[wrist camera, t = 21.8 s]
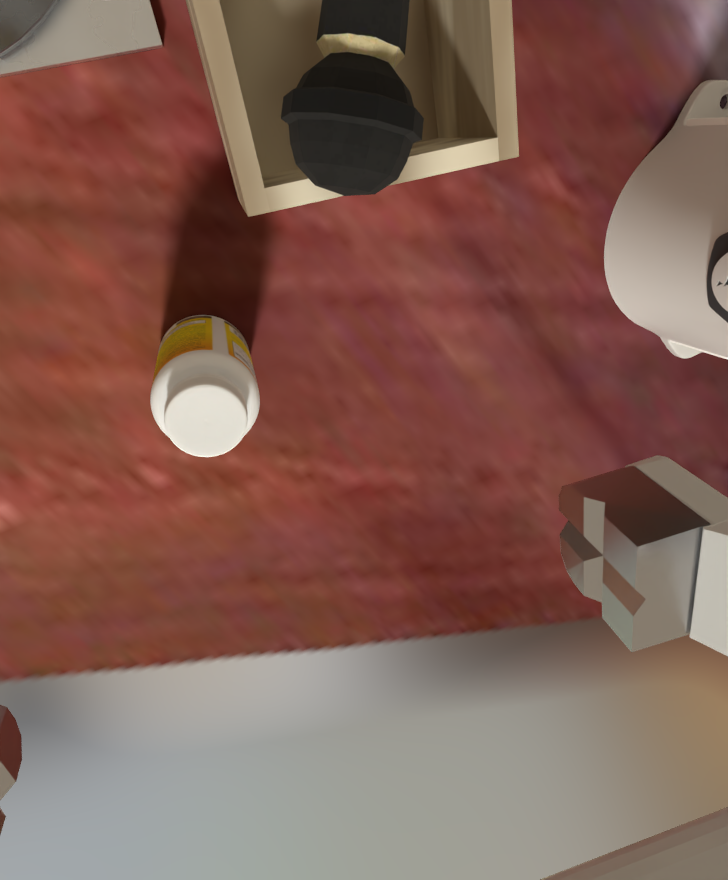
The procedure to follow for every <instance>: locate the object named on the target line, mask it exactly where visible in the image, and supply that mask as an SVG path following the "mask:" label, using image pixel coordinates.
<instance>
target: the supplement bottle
mask: <svg viewBox="0 0 728 880" xmlns="http://www.w3.org/2000/svg"><path fill="white" fill-rule="evenodd" d="M150 402H151V409H152V413H153V416H154V419H155V421H156V423H157V424H158V426H159V427H160V429H161V430H162V431H163V432H164V433H165V434H166V435H167V436H168V437H169V438H170V439H171V441H172V442H173V443H174V444H175V445H176V446H177V447H178V448H180V449H181V450H182V451H184V452H186V453H188V454H191V455H194V456H199V457H213V456H218V455H221V454H224V453H226V452H228V451H230V450H231V449H233V448H234V447H235V446H236V445H237V444H238V443H239V442H240V441H241V439H242V438H243V436H244V435H245V434H246V433H247V432H248V431H249V430H250V429H251V427H252V426H253V424H254V422H255V420H256V418H257V415H258V412H259V406H260V396H259V389H258V385H257V381H256V377H255V372H254V368H253V364H252V360H251V356H250V352H249V348H248V345H247V343H246V340H245V339H244V337H243V335H242V334H241V333H240V332H239V330H238V329H237V328H236V327H234V326H233V325H232V324H230V323H229V322H227V321H225V320H224V319H221V318H218V317H215V316H210V315H195V316H191V317H187V318H184V319H182V320H180V321H178V322H177V323H176V324H174V325H173V326H172V327H171V328H170V329H169V330H168V331H167V333H166V334H165V335H164V337H163V339H162V341H161V344H160V347H159V352H158V357H157V362H156V367H155V373H154V378H153V383H152V389H151V401H150Z"/></svg>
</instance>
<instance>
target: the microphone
mask: <svg viewBox="0 0 728 880" xmlns="http://www.w3.org/2000/svg"><path fill="white" fill-rule="evenodd" d="M409 2H410V0H322V5H321V12H320V19H319V26H318V33H317V40H316V43H317V45H318V47H319V48H320V50H321V52H322V54H323V56H324V59H322V60H321V61H320V62H318V63H317V64H316V65H315V66H313V67H312V68H311V69H310V70H308V71H307V72H306V73H305V74H303V76H302V78H301V80H300V81H299V83H298V85H297V87H296V88H295V89H293V90H291V91H290V92H289V93H287V94H286V95H285V96H284V97H283V104H282V112H281V119H282V120H283V121H285V122H286V123H287V124H288V125H289V135H290V145H291V148H292V152H293V156H294V160H295V163H296V165H297V166H298V167H299V169H300V170H301V171H302V172H303V173H304V174H305V175H306V176H307V177H308V178H309V179H310V181H311V182H312V183H313V184H314V185H315V186H318V187H321V188H324V189H326V190H329V191H332V192H335V193H338V194H341V195H343V196H350V195H369V194H376V193H377V192H379V191H380V190H382V189H383V188H385V187H387V186H388V185H390V184H391V183H393V182H394V181H396V180H397V179H398V178H399V176H400V174H401V172H402V170H403V168H404V166H405V165H406V163H407V160H408V157H409V154H410V151H411V148H412V145H413V143H415V142H418V141H421V140H422V132H423V122H424V118H423V117H422V115H421V114H420V113H419V112H418V110H417V109H416V108H415V107H414V104H413V101H412V97H411V93H410V91H409V89H408V88H407V87H406V85H405V84H404V83H403V81H402V80H401V78H400V77H399V76H398V74H397V73H396V72H395V70H394V68H395V67H396V66H397V65H398V64H399V63H400V61H401V60H402V59H403V58H404V57H405V50H406V38H407V26H408V14H409Z"/></svg>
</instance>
